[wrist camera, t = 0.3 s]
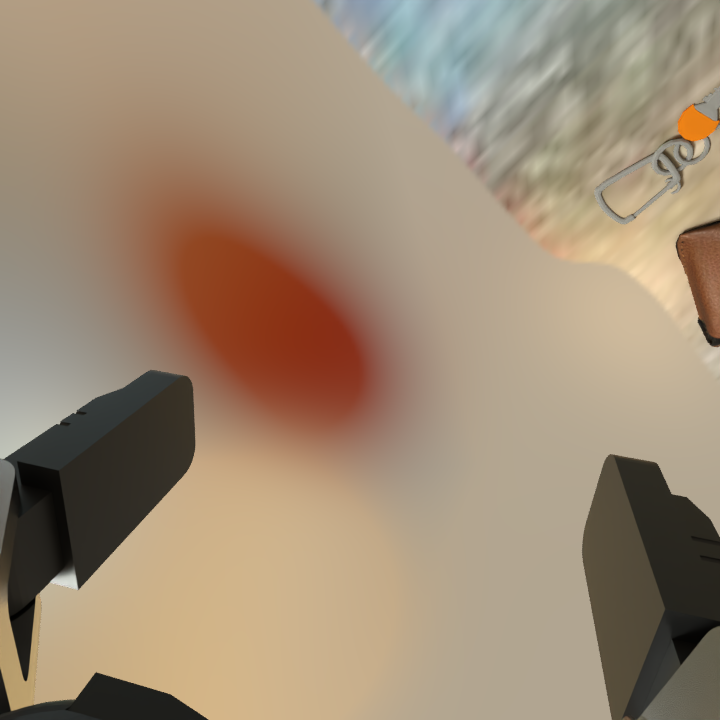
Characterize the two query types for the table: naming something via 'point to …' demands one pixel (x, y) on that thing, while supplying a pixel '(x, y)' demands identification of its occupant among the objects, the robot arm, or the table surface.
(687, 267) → the sunglasses case
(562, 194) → the table surface
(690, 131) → the key chain
